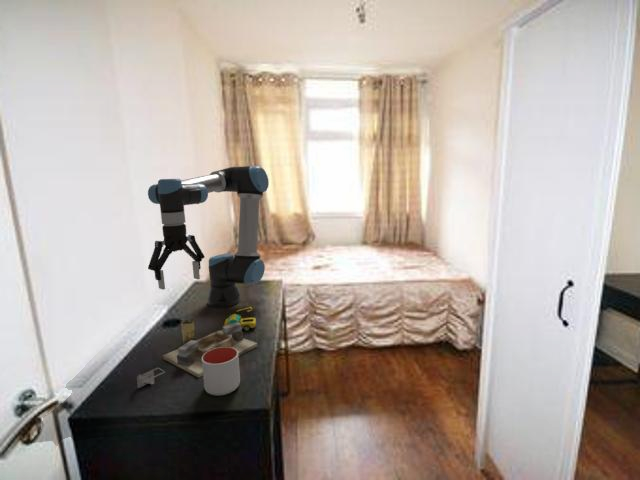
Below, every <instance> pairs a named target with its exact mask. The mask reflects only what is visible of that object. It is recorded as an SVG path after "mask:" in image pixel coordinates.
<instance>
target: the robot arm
mask: <svg viewBox="0 0 640 480" xmlns="http://www.w3.org/2000/svg"><path fill="white" fill-rule="evenodd" d="M266 172H267V171H266V170H265V168H263V167H261V166H258V165H249V166H248V165H247V166H246V165H245V166H230V167H226V168H222V169H220V170H216V171H212V172H210V173H209V174H206V175H202V176H197V177H192V178H187V179H180V178H161V179H159V180H158V181H157V183H155V184H152V185H150V187H149V188H148V190H147V196H148V199H149V201H150V203H153V204H155V205H159V209H160V216H161V217H160V218H161V224H162V235H163V240H155V241H154V249H153V252H152V255H151V258H150V259H149V260H150V261H149V264H148V266H147V269H148V270H150V271H153V272H154V278H155V280H156V281H157V284H158V289H159V290H163V291H164V290H166V284H165V275H164V270H162V268H163V267H164V265H165V263H166V262H167V260H168V258H169V256H170V255H172V253H175V252H178V251H184V252H185V253H186V254H187V255H188V256H189V257H190V258H192V259H193V260H192V261H191V263H192V272H193V273H192V274H193V279H196V280H200V279H201V276H200V270H201V268H202V267H201V262H202V261H203V259H205V255H204V253H203V251H202V249H201V247H200V246H199V244H198V243H197V240H196V237H195V235H193V234H192V235H191V234H188V236H187V225H186V224H185V223H186V216H185V206H189V205H199V204H202V203H205V202H206V201H207V200H208V198H209V194H210V193H213V192H214V193H223V192H228V193H229V192H230V193H231V192H232V193H233V192H234V193H236V194H237V196H238V197H239V201H240V202H239V203H240V204H239V221H238V222H239V223H238V241H237V242H238V244H237V246H238V247H237V251H236V252H235V253H232V252H231V253H221V254H217V255H214V256H210V258H209V259H208V272H209V273H208V274H209V284H210V291H209V294H208V298H207V304H208V306H210V307H213V308H227V307H231V306H234V305H237V304H239V303H240V302H241V295H240V292H239V290H238V288H237V285H236V284H243V285H257V284H258V283H259V282H261V280H262V279H263V277H264V273H265V269H266V267H265V266H266V265H265V262H264V261H263V260H262V259H261V255H260V254H259V252H258V240H259V239H258V235H259V215H260V214H259V213H260V200H261V199H262V198H263V196H264V193H265V192H267V191H268V188H269V177H268V174H267V173H266ZM188 242H189V244H190V246H191V247H192V248H190V246H189V245H188V244H187V243H188ZM164 246H165V247H164ZM163 247H164V248H163ZM162 249H163V250H162ZM192 249H193V250H192ZM162 251H163V252H162Z"/></svg>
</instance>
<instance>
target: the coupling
mask: <svg viewBox="0 0 640 480" xmlns="http://www.w3.org/2000/svg"><path fill="white" fill-rule="evenodd" d="M180 325H181V326H180V327H181V335H182V344H183V345H184V344H186V343H188V342H189V341H191V340H194V341H196V340H197V339H196V328H195V320H194V318H192V317H191V318H183V319H182V321H181V323H180ZM183 345H182V346H183Z"/></svg>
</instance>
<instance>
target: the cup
mask: <svg viewBox="0 0 640 480" xmlns="http://www.w3.org/2000/svg"><path fill="white" fill-rule="evenodd" d="M239 357H240V356H238V351H237V350H236V349H234V348H231V347H219V348H215V349H212V350H209V351H208V352H206V353H205V354H204V355H203V356H202V369H203V376H202V379H203V388H204V390H205V391H206V393H207V394H208V395H211V396H218V397H219V396H225V395H228V394H231V393H232V392H234V391H235V390H237V389H238V387H240V383H241V374H240V373H241V372H240V360H239Z"/></svg>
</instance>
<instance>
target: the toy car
mask: <svg viewBox="0 0 640 480" xmlns="http://www.w3.org/2000/svg"><path fill="white" fill-rule="evenodd" d="M246 309H249V310H247V311H246V312H247V313H249V312H252V307H251V306H249V307H245V308H242V309H238V310H237V312H240V311H244V310H246ZM237 322H239V323H240V324H241V327H242V330H244V332H249V331H250V330H251V329H254V328H255V327H256V326H257V319H256V317H245V316H244V314H243V315H240V314H236V313H233V314H230V315H229V316H228V318H226V319H225V321H224V324H223V326H226V325H230V324H233V323H237Z"/></svg>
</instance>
